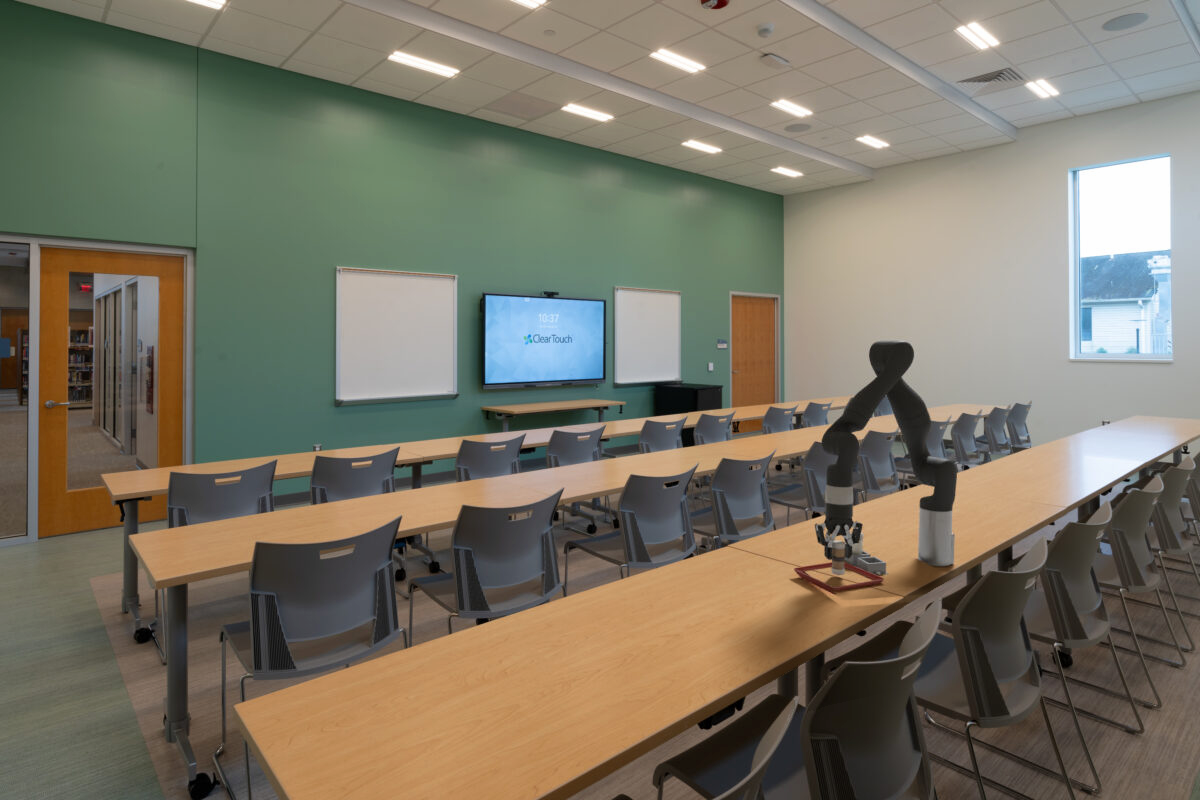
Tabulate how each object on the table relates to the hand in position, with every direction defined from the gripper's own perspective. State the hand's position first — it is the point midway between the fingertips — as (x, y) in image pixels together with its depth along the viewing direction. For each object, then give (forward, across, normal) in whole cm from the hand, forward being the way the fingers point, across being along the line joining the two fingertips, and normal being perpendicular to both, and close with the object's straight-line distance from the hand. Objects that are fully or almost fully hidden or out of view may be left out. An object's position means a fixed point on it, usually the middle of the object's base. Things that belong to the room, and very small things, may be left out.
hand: (838, 558), depth 189 cm
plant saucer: (+8, 0, 0) cm, 8 cm away
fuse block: (+7, -13, -8) cm, 17 cm away
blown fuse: (+4, 0, 0) cm, 4 cm away
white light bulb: (+6, -13, -12) cm, 19 cm away
